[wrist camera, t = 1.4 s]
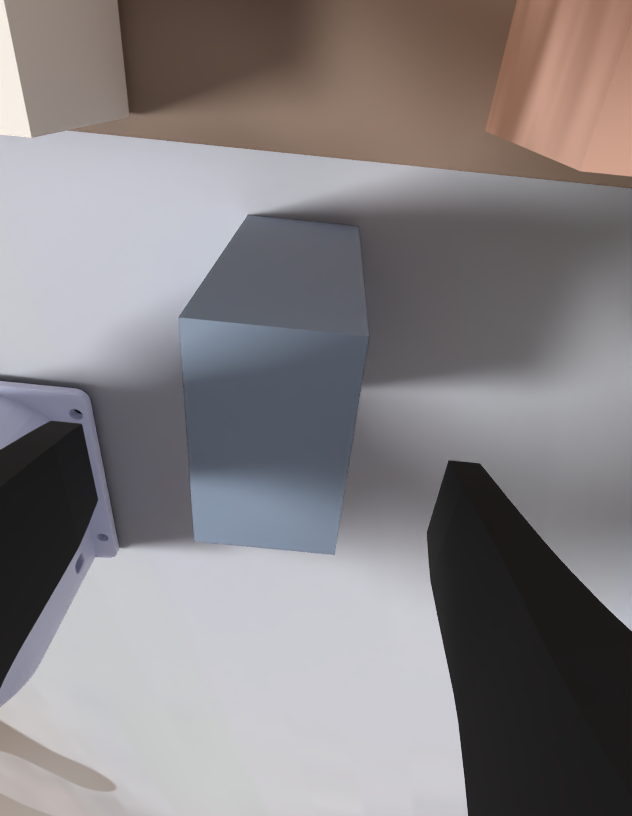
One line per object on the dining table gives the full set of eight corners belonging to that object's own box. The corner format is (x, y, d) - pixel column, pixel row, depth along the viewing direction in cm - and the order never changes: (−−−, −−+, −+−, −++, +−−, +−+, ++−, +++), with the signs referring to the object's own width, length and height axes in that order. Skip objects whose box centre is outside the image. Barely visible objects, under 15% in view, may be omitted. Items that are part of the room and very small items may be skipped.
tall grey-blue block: (337, 388, 19) (334, 554, 13) (246, 379, 19) (194, 541, 13) (358, 226, 16) (369, 336, 9) (248, 214, 16) (178, 317, 9)
